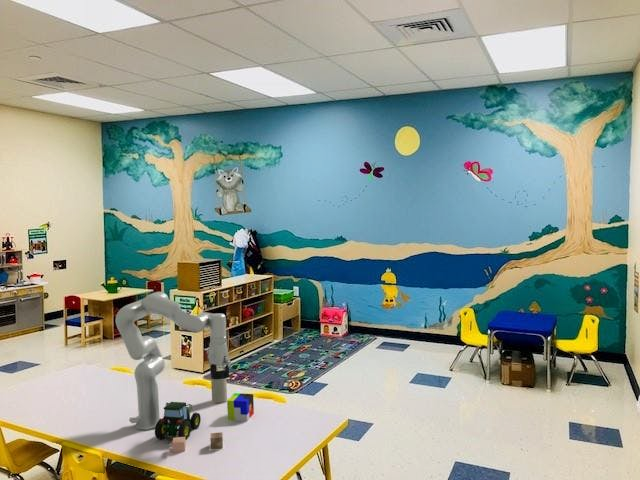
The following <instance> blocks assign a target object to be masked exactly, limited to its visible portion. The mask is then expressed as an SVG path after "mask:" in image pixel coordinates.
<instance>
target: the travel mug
mask: <svg viewBox="0 0 640 480" xmlns="http://www.w3.org/2000/svg"><path fill="white" fill-rule="evenodd" d="M210 379H211V380H210V381H211V383H210V384H211V402H212V403H214V404H222V403H225V402H227V400H228V388H227V378H225V379H223V368H222V366H217V373H215V374H211V373H210Z"/></svg>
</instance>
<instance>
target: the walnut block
mask: <svg viewBox="0 0 640 480" xmlns="http://www.w3.org/2000/svg"><path fill="white" fill-rule="evenodd" d="M209 439H210V444H211V450H212V449H222V448H223V442H224V441H223V431H222V432H221V431H219V432H213V433H211V432H210V438H209ZM222 450H223V449H222ZM212 451H213V450H212Z"/></svg>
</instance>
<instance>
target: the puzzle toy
mask: <svg viewBox="0 0 640 480" xmlns="http://www.w3.org/2000/svg"><path fill="white" fill-rule="evenodd" d="M226 404H227V407H226V409H227V420H228V421H238V422H248V421H249V420H250V419H251V418H252V416H253V415H254V414H255V410H254V409H255V408H254V407H255V406H254V394H253V393H241V392H239V393H238V392H234V393H233V394H232V395H231V396H229V398H227V401H226Z"/></svg>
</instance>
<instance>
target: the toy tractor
mask: <svg viewBox="0 0 640 480" xmlns="http://www.w3.org/2000/svg"><path fill="white" fill-rule="evenodd" d="M192 407H193V405H192V404H191V403H188V404H187V402H184V401H183V402H180V401H170V402H165V406H164V407H163V410H164V413H163V417H162V418H161V419H160V420H158V422H157V424H156V426H155V428H154V436H155V438H156V439H159V440H163V439H165V438H166V439H170V438H175V437H176V436H177V437H185V440H188V439H189V438H190V436H191V431H192V430H198V429H199V428H200V426H201V425H200V424H201V414H200V413H199V412H193V413H192V415H191V413H190V412H191V410H193V408H192Z"/></svg>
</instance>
